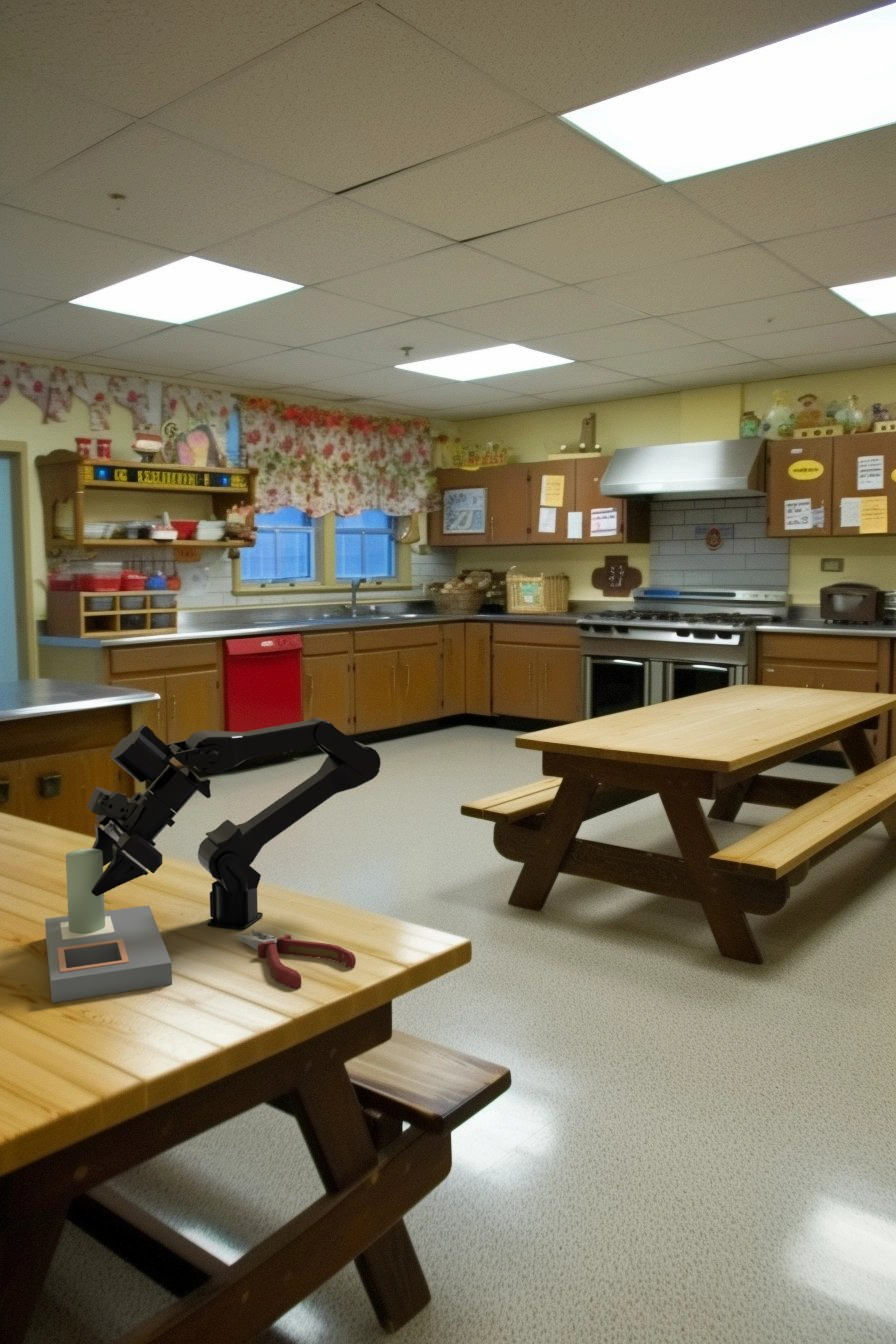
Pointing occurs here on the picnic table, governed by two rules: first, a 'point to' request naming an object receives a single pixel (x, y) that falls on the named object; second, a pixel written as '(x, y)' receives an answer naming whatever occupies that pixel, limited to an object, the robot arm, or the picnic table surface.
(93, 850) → the post
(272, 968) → the pliers
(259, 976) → the picnic table surface
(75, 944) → the slotted grey base
